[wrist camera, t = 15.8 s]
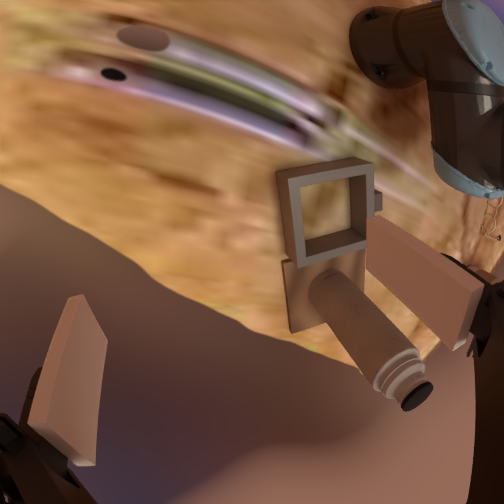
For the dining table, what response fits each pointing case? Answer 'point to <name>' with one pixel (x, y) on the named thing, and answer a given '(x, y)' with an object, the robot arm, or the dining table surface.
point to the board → (301, 279)
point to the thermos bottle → (371, 339)
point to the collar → (362, 208)
